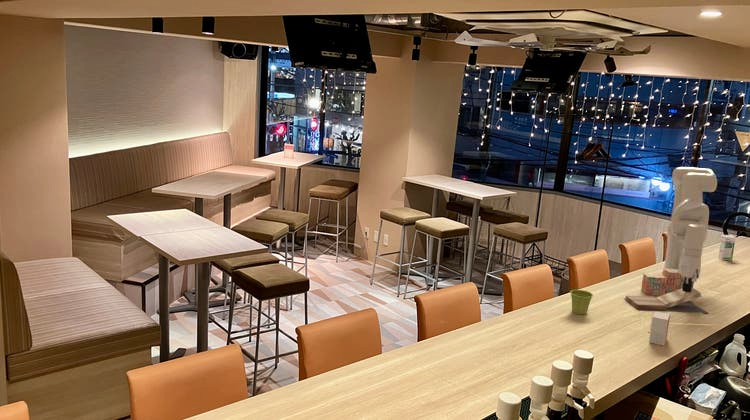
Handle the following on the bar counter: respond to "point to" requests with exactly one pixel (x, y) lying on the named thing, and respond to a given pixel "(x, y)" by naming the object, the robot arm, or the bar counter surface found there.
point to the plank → (678, 297)
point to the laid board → (646, 302)
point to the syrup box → (726, 247)
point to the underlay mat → (680, 308)
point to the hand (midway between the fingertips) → (686, 291)
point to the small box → (659, 328)
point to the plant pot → (580, 301)
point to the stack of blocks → (662, 282)
